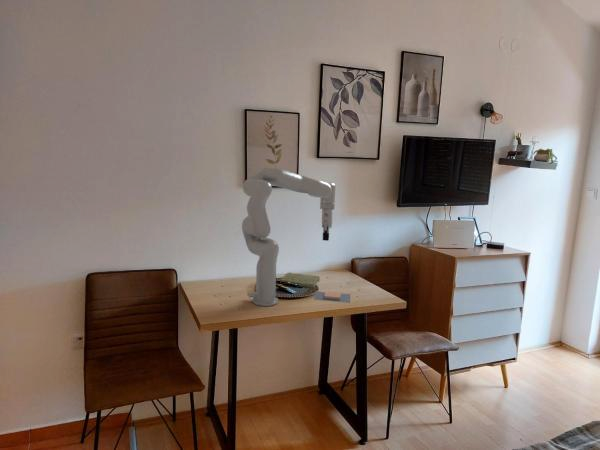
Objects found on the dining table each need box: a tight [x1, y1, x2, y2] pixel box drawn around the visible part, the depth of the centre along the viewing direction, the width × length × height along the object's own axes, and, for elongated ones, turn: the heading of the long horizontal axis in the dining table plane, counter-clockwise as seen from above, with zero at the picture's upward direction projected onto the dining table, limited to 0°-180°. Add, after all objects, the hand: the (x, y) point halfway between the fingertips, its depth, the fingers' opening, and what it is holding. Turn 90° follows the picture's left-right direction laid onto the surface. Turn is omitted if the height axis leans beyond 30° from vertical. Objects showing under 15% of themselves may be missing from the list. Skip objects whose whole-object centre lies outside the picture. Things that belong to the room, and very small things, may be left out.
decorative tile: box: [280, 272, 321, 288], centre depth 244 cm, size 19×20×4 cm
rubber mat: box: [313, 291, 352, 303], centre depth 220 cm, size 18×13×1 cm
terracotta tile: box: [324, 290, 342, 300], centre depth 219 cm, size 8×2×8 cm
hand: (325, 240), depth 230 cm, fingers closed
